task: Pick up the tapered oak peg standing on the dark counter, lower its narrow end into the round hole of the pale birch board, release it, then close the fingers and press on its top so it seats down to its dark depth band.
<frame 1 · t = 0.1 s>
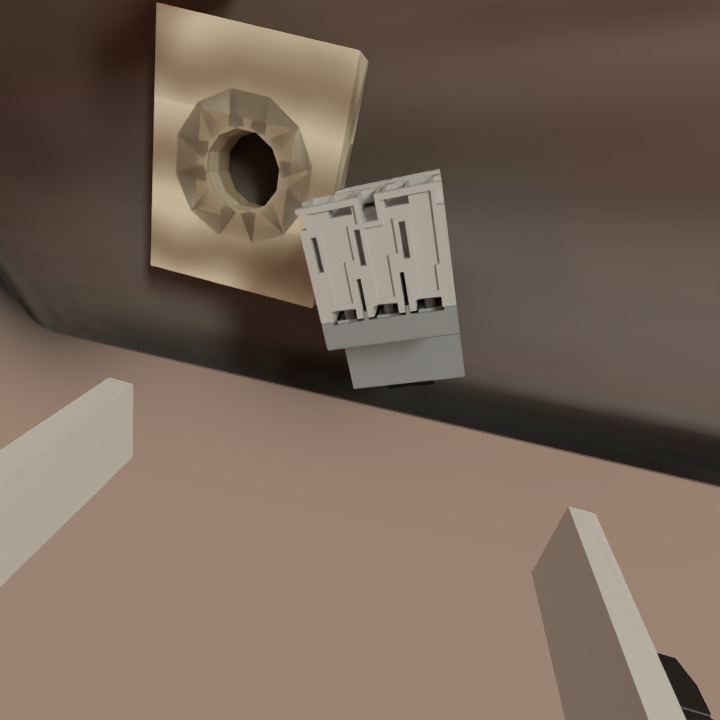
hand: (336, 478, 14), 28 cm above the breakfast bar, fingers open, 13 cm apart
board: (261, 169, 37), on the breakfast bar
circuit breaker: (406, 266, 39), on the breakfast bar
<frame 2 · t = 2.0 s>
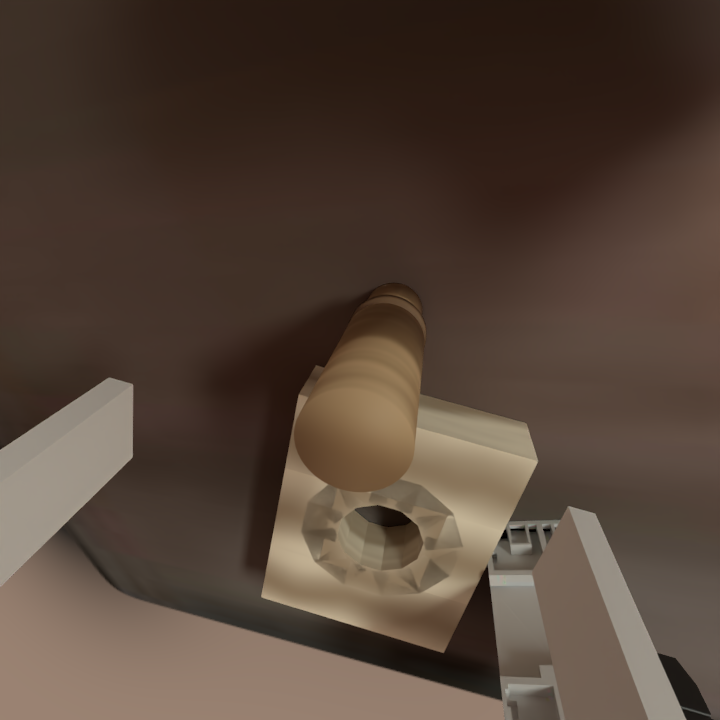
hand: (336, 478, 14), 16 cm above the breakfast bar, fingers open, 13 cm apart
board: (386, 497, 33), on the breakfast bar
peg: (393, 310, 27), on the breakfast bar
circuit breaker: (541, 590, 35), on the breakfast bar
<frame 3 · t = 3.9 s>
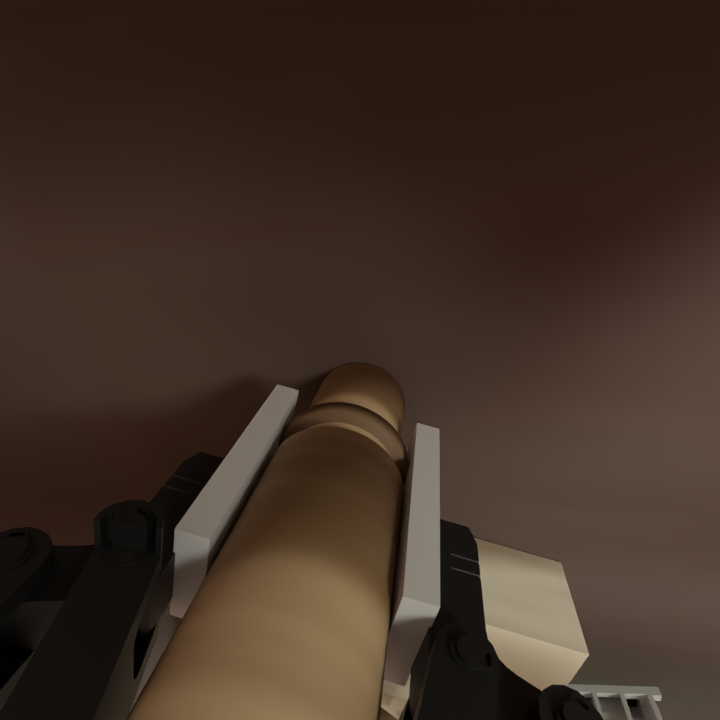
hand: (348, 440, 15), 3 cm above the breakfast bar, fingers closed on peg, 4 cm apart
board: (358, 644, 24), on the breakfast bar
peg: (360, 402, 18), on the breakfast bar, touching gripper
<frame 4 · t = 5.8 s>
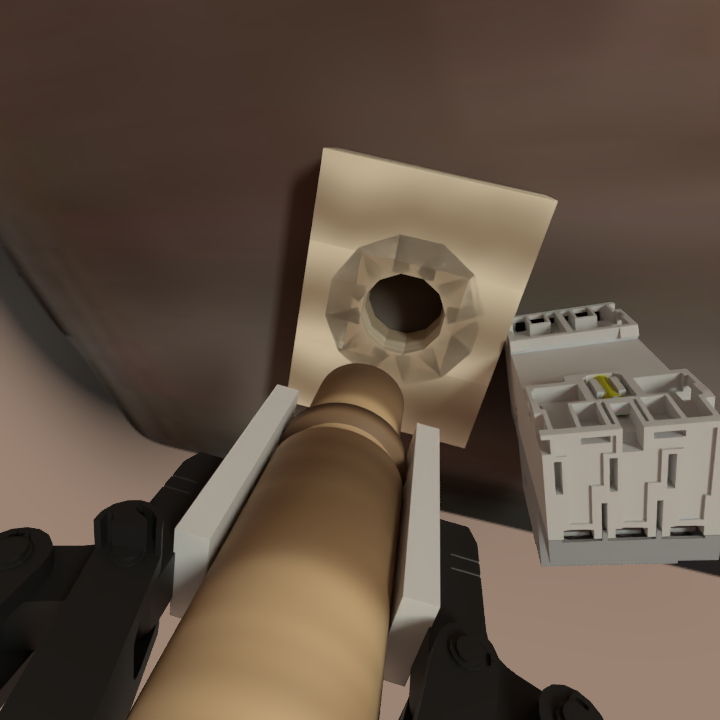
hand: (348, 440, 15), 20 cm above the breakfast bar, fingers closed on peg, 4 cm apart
board: (406, 297, 34), on the breakfast bar
peg: (360, 402, 18), point 18 cm above the breakfast bar, touching gripper
circuit breaker: (559, 395, 36), on the breakfast bar
when the fingers open (6 cm above the breakfast bar, at t = 8.0 s): peg drops 3 cm, resting in board.
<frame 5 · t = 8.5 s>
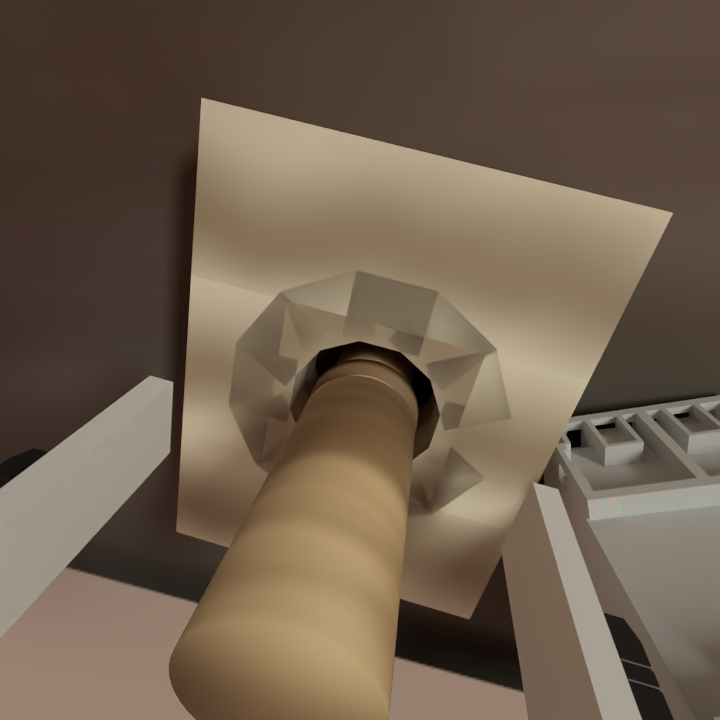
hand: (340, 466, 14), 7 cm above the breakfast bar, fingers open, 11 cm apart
board: (376, 367, 21), on the breakfast bar
peg: (376, 367, 21), resting in board
circuit breaker: (626, 531, 22), on the breakfast bar, touching gripper, hand
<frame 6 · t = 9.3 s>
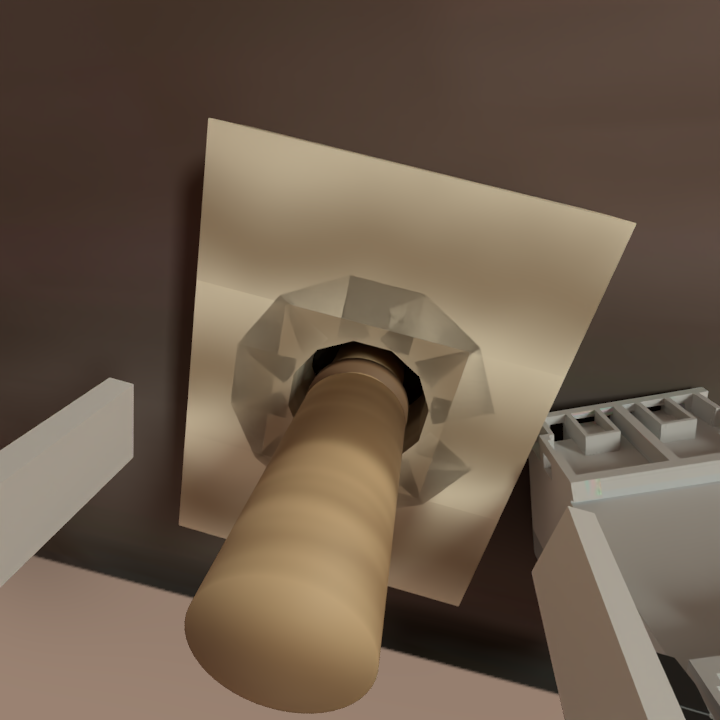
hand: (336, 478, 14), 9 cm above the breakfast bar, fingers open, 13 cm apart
board: (369, 367, 22), on the breakfast bar
peg: (369, 367, 22), resting in board
circuit breaker: (607, 523, 23), on the breakfast bar, touching gripper
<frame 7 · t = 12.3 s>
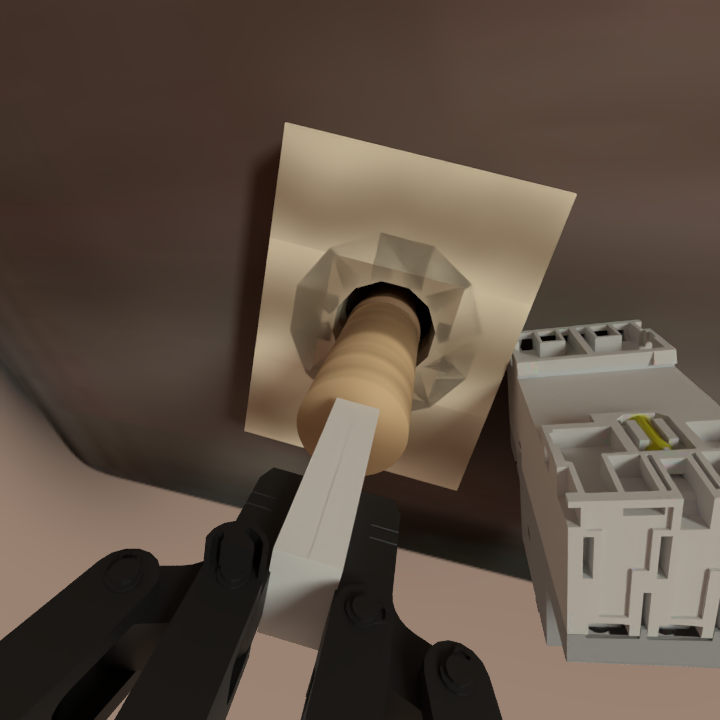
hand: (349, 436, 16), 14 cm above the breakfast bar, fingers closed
board: (389, 310, 29), on the breakfast bar
peg: (389, 310, 29), resting in board
circuit breaker: (568, 426, 30), on the breakfast bar
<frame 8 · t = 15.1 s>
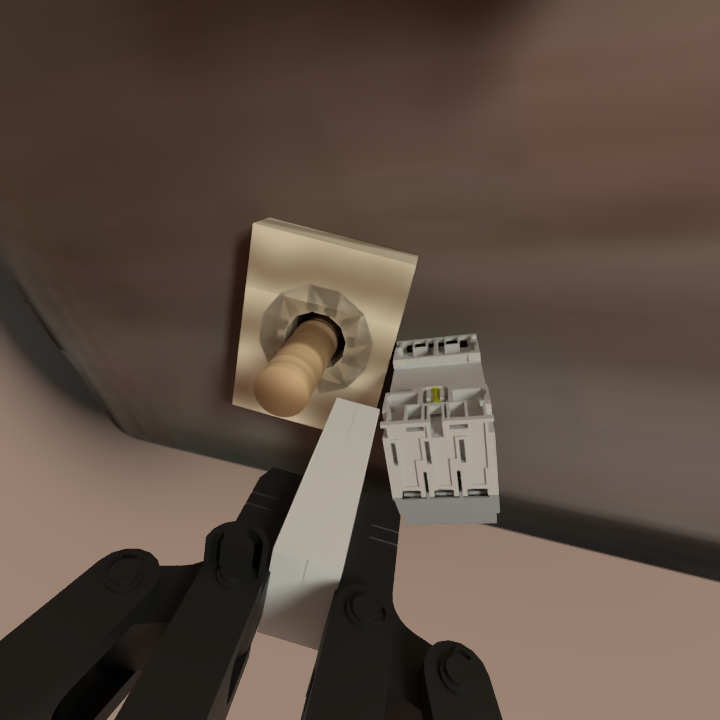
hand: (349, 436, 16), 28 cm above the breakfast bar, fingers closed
board: (324, 327, 45), on the breakfast bar
peg: (324, 327, 45), resting in board
circuit breaker: (442, 401, 47), on the breakfast bar
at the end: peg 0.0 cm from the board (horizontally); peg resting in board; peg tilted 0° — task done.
